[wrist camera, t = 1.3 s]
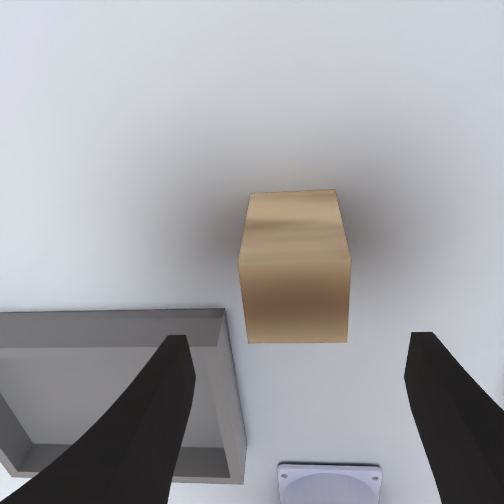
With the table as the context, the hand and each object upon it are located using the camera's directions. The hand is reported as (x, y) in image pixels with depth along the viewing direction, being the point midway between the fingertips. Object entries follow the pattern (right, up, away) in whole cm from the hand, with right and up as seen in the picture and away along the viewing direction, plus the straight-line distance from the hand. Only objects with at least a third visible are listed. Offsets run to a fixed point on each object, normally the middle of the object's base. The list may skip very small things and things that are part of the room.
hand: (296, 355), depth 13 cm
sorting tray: (-11, -6, +15) cm, 20 cm away
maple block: (+1, +5, +7) cm, 9 cm away
